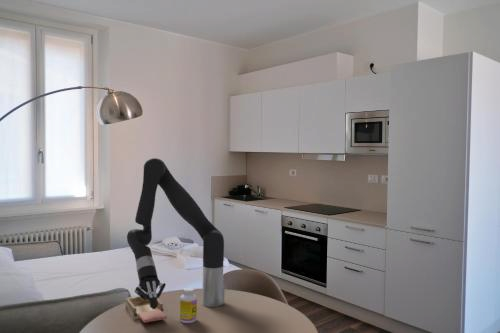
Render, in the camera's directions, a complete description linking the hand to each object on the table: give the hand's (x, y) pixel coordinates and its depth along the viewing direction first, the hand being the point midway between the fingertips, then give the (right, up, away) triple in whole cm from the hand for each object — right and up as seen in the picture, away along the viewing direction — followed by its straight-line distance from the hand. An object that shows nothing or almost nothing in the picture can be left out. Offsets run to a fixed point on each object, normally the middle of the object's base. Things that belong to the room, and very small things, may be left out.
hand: (154, 307), depth 156 cm
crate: (-8, -6, +13) cm, 16 cm away
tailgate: (-4, -4, +7) cm, 9 cm away
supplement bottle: (+13, -7, +4) cm, 15 cm away
